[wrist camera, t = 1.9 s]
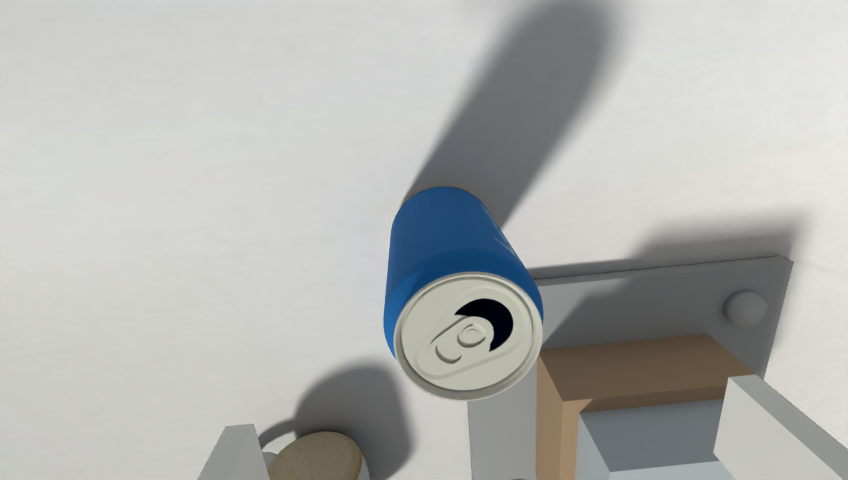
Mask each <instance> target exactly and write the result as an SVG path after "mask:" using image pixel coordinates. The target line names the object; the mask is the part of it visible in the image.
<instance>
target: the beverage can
mask: <svg viewBox="0 0 848 480" xmlns="http://www.w3.org/2000/svg"><path fill="white" fill-rule="evenodd" d="M543 320H544V310H543V304H542V298H541V295H540V292H539V290H538V288H537V286H536V284H535V282H534V280H533V279H532V277H531V276H530V274H529V273H528V271H527V270H526V268H525V267H524V265H523V264H522V262H521V260H520V259H519V257H518V256H517V254H516V253H515V251H514V250H513V248H512V247H511V245H510V244H509V242H508V241H507V239H506V238H505V236H504V234H503V233H502V231H501V230H500V228H499V227H498V225H497V224H496V222H495V221H494V219H493V218H492V216H491V215H490V213H489V212H488V210H487V209H486V207H485V206H484V205H483V203H482V202H481V201H480V200H479V199H477V198H476V197H475V196H473V195H472V194H470V193H468V192H466V191H464V190H461V189H458V188H453V187H435V188H430V189H427V190H424V191H422V192H420V193H418V194H416V195H414V196H413V197H411V198H410V199H409V200H408V201H407V202H406V203H405V204H404V205H403V206H402V207H401V208H400V210H399V211H398V213H397V215H396V217H395V219H394V221H393V225H392V229H391V238H390V250H389V261H388V273H387V284H386V296H385V307H384V332H385V337H386V340H387V343H388V346H389V348H390V350H391V352H392V354H393V356H394V357H395V359H396V360H397V362H398V364H399V366H400V368H401V370H402V372H403V373H404V374H405V376H406V377H407V378H408V379H409V380H410V381H411V382H412V383H413V384H414V385H415V386H416V387H418V388H419V389H421V390H422V391H424V392H426V393H428V394H430V395H432V396H435V397H438V398H441V399H446V400H452V401H473V400H480V399H484V398H488V397H491V396H494V395H497V394H499V393H501V392H503V391H505V390H507V389H508V388H510V387H512V386H513V385H514V384H516V383H517V382H518V381H520V380H521V379H522V378H523V377H524V376H525V375H526V374H527V372H528V371H529V370H530V369H531V367H532V366H533V364H534V363H535V361H536V359H537V357H538V355H539V352H540V349H541V346H542V339H543Z"/></svg>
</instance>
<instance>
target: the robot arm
mask: <svg viewBox="0 0 848 480" xmlns="http://www.w3.org/2000/svg"><path fill="white" fill-rule="evenodd" d="M713 453H714V454H715V456H716V457H717V458H718V459H719V460H720V461H721V463H722V464H723V465H724V466H725V467H726V469H727V470H728V471H729V472H730V473H731V475H732V476H733V477H734V478H735V479H736V480H848V449H847V448H846V447H844V446H843V445H842V444H841V443H839V442H838V441H837V440H836V439H835V438H833V437H832V436H831V435H830V434H828V433H827V432H826V431H825V430H823V429H822V428H821V427H820V426H819V425H817V424H816V423H815V422H814V421H812V420H811V419H810V418H809V417H808V416H806V415H805V414H804V413H803V412H801V411H800V410H799V409H798V408H797V407H795V406H794V405H793V404H792V403H790V402H789V401H788V400H787V399H786V398H784V397H783V396H782V395H781V394H779V393H778V392H777V391H776V390H775V389H773V388H772V387H771V386H770V385H768V384H767V383H766V382H765V381H764V380H762V379H761V378H760V377H759V376H757V375H756V374H755V375H745V376H735V377H729V378H728V383H727V388H726V393H725V397H724V402H723V407H722V412H721V417H720V422H719V427H718V432H717V437H716V442H715V447H714V451H713ZM197 480H270V478H269V475H268V471H267V468H266V464H265V461H264V458H263V454H262V451H261V447H260V444H259V440H258V437H257V434H256V430H255V427H254V424H247V425H237V426H226V427H225V429H224V431H223V433H222V434H221V436H220V438H219V440H218V442H217V444H216V446H215V447H214V449H213V451H212V453H211V455H210V457H209V459H208V461H207V462H206V464H205V466H204V468H203V470H202V472H201V474H200V476H199V477H198V479H197Z"/></svg>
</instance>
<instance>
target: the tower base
mask: <svg viewBox="0 0 848 480" xmlns="http://www.w3.org/2000/svg"><path fill="white" fill-rule="evenodd" d="M792 266H793V261H791V260H789V259H787V258H784V257H782V256H773V257H763V258H753V259H743V260H732V261H722V262H712V263H702V264H691V265H681V266H671V267H660V268H650V269H640V270H630V271H619V272H609V273H599V274H589V275H578V276H568V277H558V278H548V279H537V280H534V282H535V284H536V286H537V288H538V290H539V292H540V295H541V298H542V304H543V310H544V320H543V339H542V346H541V349H540V352H539V355H538V357H537V359H536V361H535V363H534V364H533V366H532V367H531V369H530V370H529V371H528V372H527V374H526V375H525V376H524V377H523V378H522V379H521V380H520V381H518V382H517V383H516V384H514V385H513V386H512V387H510V388H508V389H507V390H505V391H503V392H501V393H499V394H497V395H494V396H491V397H488V398H484V399H480V400H473V401H467V402H468V419H469V435H470V452H471V468H472V480H736V479H735V478H734V477H733V476H732V475H731V473H730V472H729V471H728V470H727V469H726V467H725V466H724V465H723V464H722V463H721V461H720V460H719V459H718V458H717V457H716V456H715V454H714V453H713V451H714V447H715V442H716V437H717V432H718V427H719V422H720V417H721V412H722V407H723V402H724V397H725V393H726V388H727V383H728V378H729V377H735V376H745V375H755V374H756V375H757V376H759V377H760V378H761V379H762V380H764V376H765V372H766V368H767V364H768V360H769V356H770V352H771V348H772V344H773V341H774V337H775V333H776V329H777V325H778V321H779V317H780V313H781V309H782V305H783V301H784V297H785V293H786V289H787V286H788V282H789V278H790V274H791V270H792Z"/></svg>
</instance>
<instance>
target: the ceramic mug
mask: <svg viewBox="0 0 848 480" xmlns="http://www.w3.org/2000/svg"><path fill="white" fill-rule="evenodd" d="M262 454H263V458H264V461H265V464H266V468H267V471H268V475H269V478H270V480H370V477H369V471H368V467H367V464H366V461H365V458H364V457H363V455H362V453H361V450H360V448H359V447H358V445H357V444H356V443H355V442H354V441H353V440H352V439H351V438H350V437H348V436H346V435H344V434H341V433H338V432H328V431H324V432H316V433H312V434H308V435H306V436H303V437H301V438H299V439H297V440H295V441H293V442H292V443H291V444H289V445H288V446H286V447H285V448H284V449H283V450H282V451H281V452H280V453H279V454H278V455H277V454H274V453H270V452H262Z"/></svg>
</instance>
